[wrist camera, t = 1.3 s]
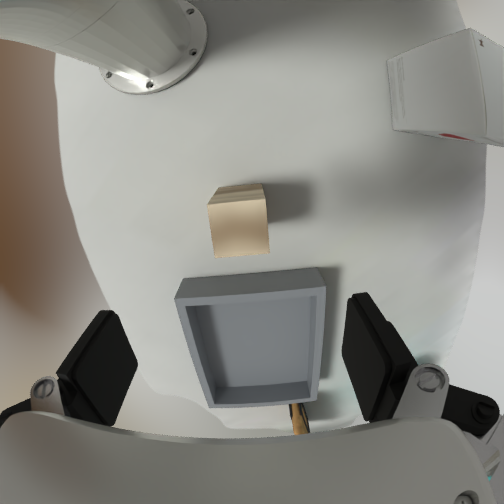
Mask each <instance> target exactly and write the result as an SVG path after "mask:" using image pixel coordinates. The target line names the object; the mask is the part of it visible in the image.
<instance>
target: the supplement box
mask: <svg viewBox="0 0 504 504" xmlns="http://www.w3.org/2000/svg"><path fill="white" fill-rule="evenodd" d="M387 67H388V75H389V84H390V95H391V109H392V127H393V130H395V131H402V132H409V133H415V134H422V135H428V136H434V137H439V138H445V139H454V140H462V141H470V142H477V143H483V144H490V145H495V146H501V147H504V47H503V46H501V45H498V44H497V43H495V42H493V41H492V40H490V39H489V38H487V37H485V36H484V35H482V34H480V33H479V32H477V31H475V30H473V29H471V28H469V29H465V30H462V31H459V32H456V33H453V34H450V35H447V36H445V37H442V38H439V39H436V40H434V41H431V42H428V43H426V44H423V45H421V46H418V47H416V48H413V49H411V50H409V51H406V52H404V53H402V54H400V55H397V56H395V57H393V58H391V59H389V60H387Z"/></svg>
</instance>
